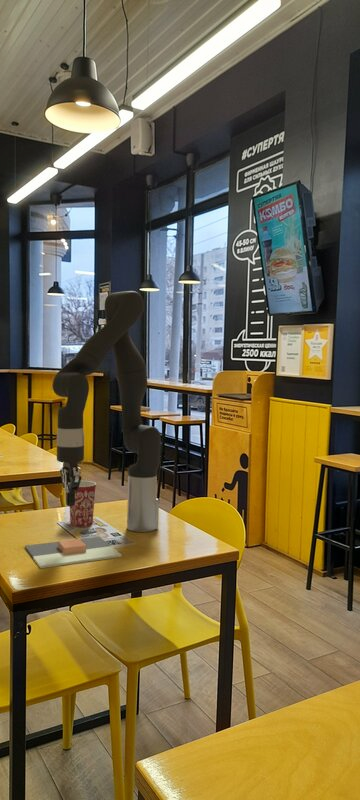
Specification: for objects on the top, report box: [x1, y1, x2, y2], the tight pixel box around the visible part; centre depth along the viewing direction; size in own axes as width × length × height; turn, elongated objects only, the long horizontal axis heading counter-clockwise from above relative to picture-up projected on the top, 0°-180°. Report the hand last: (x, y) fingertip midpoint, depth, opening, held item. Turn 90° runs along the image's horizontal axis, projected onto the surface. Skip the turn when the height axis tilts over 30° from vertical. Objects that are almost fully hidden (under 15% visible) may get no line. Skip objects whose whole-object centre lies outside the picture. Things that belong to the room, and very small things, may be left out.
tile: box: [57, 537, 86, 555], centre depth 155 cm, size 6×2×7 cm
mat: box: [24, 536, 122, 569], centre depth 155 cm, size 22×18×1 cm
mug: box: [69, 480, 97, 528], centre depth 185 cm, size 13×9×14 cm
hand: (70, 505), depth 157 cm, fingers closed
